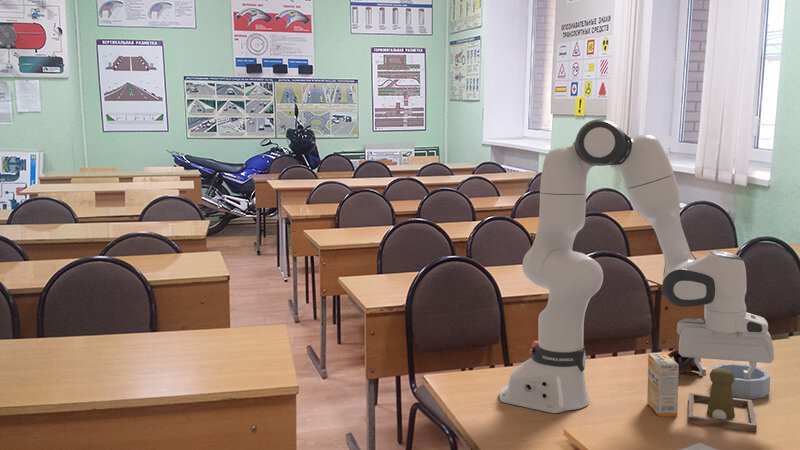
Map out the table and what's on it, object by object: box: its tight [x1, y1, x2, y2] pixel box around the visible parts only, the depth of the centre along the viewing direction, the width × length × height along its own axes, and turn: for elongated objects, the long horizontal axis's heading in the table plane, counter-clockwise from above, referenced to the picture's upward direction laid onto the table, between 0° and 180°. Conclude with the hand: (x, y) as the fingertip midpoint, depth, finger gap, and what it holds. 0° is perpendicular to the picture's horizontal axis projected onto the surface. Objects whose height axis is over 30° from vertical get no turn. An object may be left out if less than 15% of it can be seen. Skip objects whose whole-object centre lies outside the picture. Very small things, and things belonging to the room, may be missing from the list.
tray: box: [687, 392, 758, 433], centre depth 160 cm, size 14×16×2 cm
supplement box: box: [646, 352, 679, 417], centre depth 163 cm, size 8×5×13 cm, turn 178°
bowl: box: [711, 362, 771, 400], centre depth 175 cm, size 13×13×5 cm
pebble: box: [711, 409, 727, 420], centre depth 155 cm, size 3×3×3 cm
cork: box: [706, 368, 736, 420], centre depth 159 cm, size 6×6×11 cm
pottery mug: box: [667, 347, 704, 378], centre depth 188 cm, size 12×10×8 cm
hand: (724, 377), depth 159 cm, fingers open, 8 cm apart
